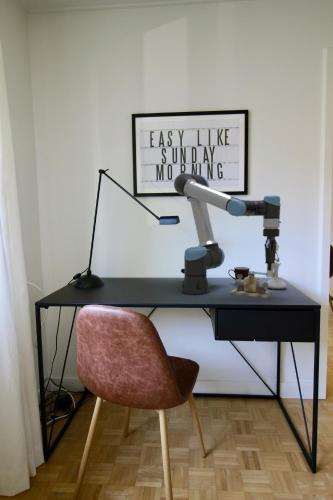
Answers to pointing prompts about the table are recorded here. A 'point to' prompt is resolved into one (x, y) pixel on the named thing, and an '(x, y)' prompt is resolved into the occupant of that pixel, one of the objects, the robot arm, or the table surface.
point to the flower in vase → (276, 281)
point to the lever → (261, 273)
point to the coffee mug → (240, 272)
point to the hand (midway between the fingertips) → (269, 276)
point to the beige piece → (251, 287)
